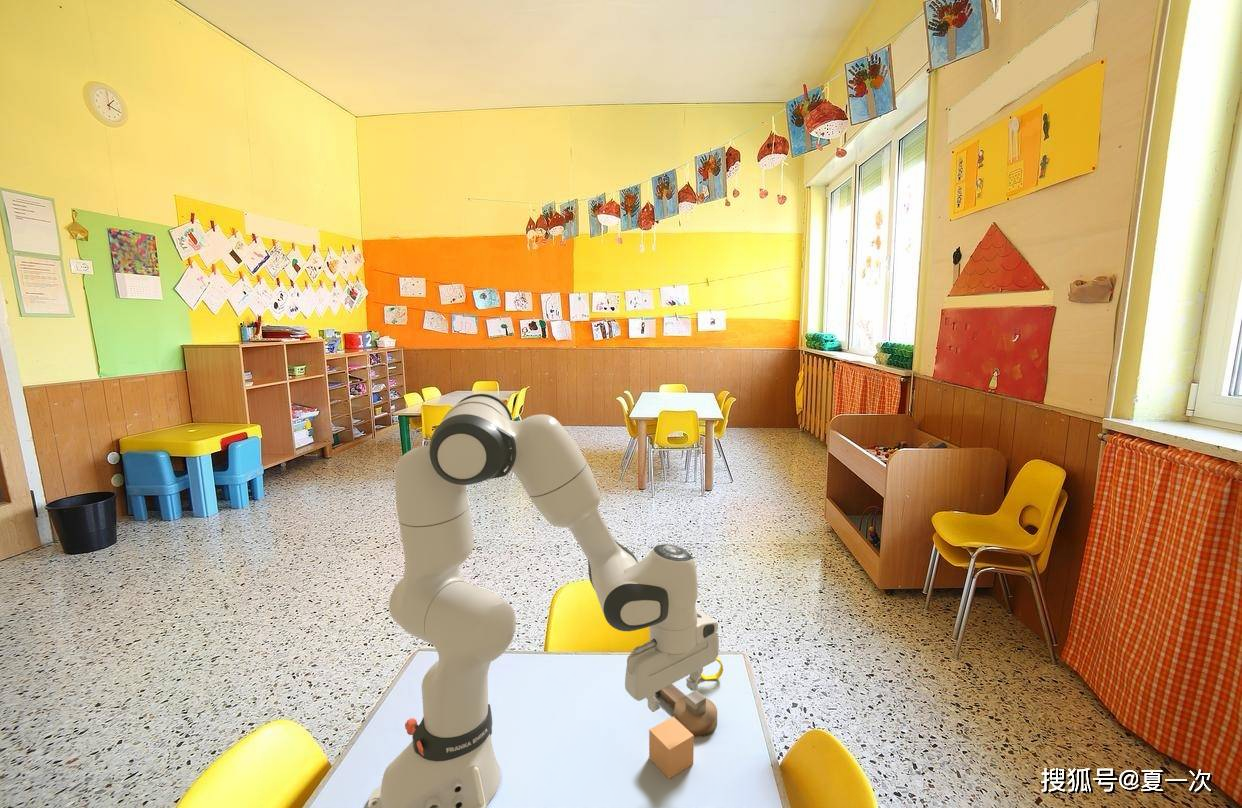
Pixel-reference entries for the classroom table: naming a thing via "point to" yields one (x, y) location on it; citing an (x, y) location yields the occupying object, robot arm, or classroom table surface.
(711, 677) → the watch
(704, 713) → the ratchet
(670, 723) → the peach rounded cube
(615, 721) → the classroom table surface
